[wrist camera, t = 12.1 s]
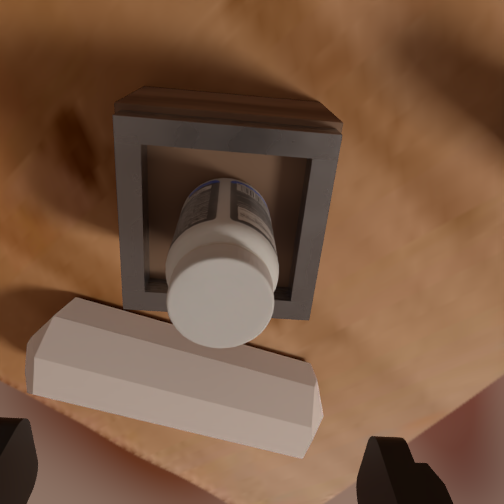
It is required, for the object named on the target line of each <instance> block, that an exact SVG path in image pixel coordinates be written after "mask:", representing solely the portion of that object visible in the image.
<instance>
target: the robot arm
mask: <svg viewBox="0 0 504 504" xmlns="http://www.w3.org/2000/svg"><path fill="white" fill-rule="evenodd" d="M37 471H38V460H37V455H36V450H35V445H34V440H33V435H32V430H31V425H30V422H29V420H28V419H24V418H2V417H0V504H27V501H28V499H29V497H30V495H31V493H32V490H33V488H34V485H35V481H36V477H37ZM356 488H357V500H358V504H453V502H452V500H451V497H450V495H449V493H448V491H447V489H446V486H445V484H444V483H443V482H442V481H441V479H440V478H439V477H438V476H437V475H436V474H435V472H434V471H433V470H432V469H431V467H430V466H429V465H428V464H427V463H415V462H414V459H413V457H412V455H411V452H410V449H409V447H408V445H407V443H406V441H405V440H404V439H403V438H399V437H378V436H371V437H370V438H369V440H368V443H367V446H366V450H365V453H364V456H363V460H362V463H361V466H360V469H359V473H358V476H357V486H356Z"/></svg>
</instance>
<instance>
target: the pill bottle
mask: <svg viewBox="0 0 504 504" xmlns="http://www.w3.org/2000/svg"><path fill="white" fill-rule="evenodd" d="M165 273H166V280H167V284H168V291H167V298H166V305H167V311H168V315H169V318H170V320H171V322H172V323H173V325H174V326H175V328H176V329H177V330H178V331H179V332H180V333H181V334H182V335H183V336H184V337H186V338H187V339H189V340H191V341H192V342H194V343H197V344H199V345H203V346H206V347H211V348H230V347H236V346H239V345H242V344H244V343H247V342H249V341H251V340H252V339H254V338H255V337H257V336H258V335H259V334H260V333H261V332H262V331H263V330H264V329H265V327H266V326H267V325H268V323H269V321H270V319H271V317H272V314H273V310H274V291H275V289H276V286H277V282H278V277H279V262H278V257H277V252H276V246H275V241H274V235H273V229H272V224H271V219H270V213H269V210H268V207H267V204H266V202H265V200H264V199H263V197H262V196H261V195H260V193H259V192H258V191H257V190H256V189H255V188H253V187H252V186H251V185H249V184H247V183H245V182H242V181H240V180H236V179H231V178H219V179H213V180H209V181H207V182H205V183H203V184H201V185H199V186H198V187H197V188H195V189H194V190H193V191H192V192H191V193H190V195H189V196H188V197H187V199H186V201H185V203H184V205H183V208H182V211H181V214H180V217H179V220H178V223H177V227H176V230H175V233H174V237H173V240H172V243H171V245H170V249H169V252H168V255H167V260H166V270H165Z"/></svg>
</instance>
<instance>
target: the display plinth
mask: <svg viewBox="0 0 504 504" xmlns="http://www.w3.org/2000/svg"><path fill="white" fill-rule="evenodd" d="M114 107H115V114H114V115H113V130H114V149H115V167H116V186H117V204H118V223H119V241H120V259H121V278H122V296H123V309H131V310H147V311H164V312H168V311H167V305H166V298H167V291H168V284H167V280H166V273H165V270H166V260H167V255H168V252H169V249H170V245H171V243H172V240H173V237H174V233H175V230H176V227H177V223H178V220H179V217H180V214H181V211H182V208H183V205H184V203H185V201H186V199H187V197H188V196H189V195H190V193H191V192H192V191H193V190H194V189H195V188H197V187H198V186H199V185H201V184H203V183H205V182H207V181H209V180H213V179H219V178H231V179H236V180H240V181H242V182H245V183H247V184H249V185H251V186H252V187H253V188H255V189H256V190H257V191H258V192H259V193H260V195H261V196H262V197H263V199H264V200H265V202H266V204H267V207H268V210H269V213H270V219H271V224H272V229H273V235H274V241H275V246H276V252H277V257H278V262H279V277H278V282H277V286H276V289H275V291H274V310H273V314H272V317H271V318H279V319H296V320H309V318H310V312H311V307H312V301H313V295H314V290H315V284H316V279H317V273H318V268H319V262H320V257H321V251H322V245H323V240H324V234H325V229H326V223H327V218H328V212H329V207H330V201H331V195H332V190H333V184H334V179H335V173H336V168H337V162H338V157H339V151H340V145H341V140H342V134H341V132H342V127H343V122H342V121H341V120H339V119H338V118H337V117H336V116H335V115H334V114H333V113H332V112H330V111H329V110H328V109H327V108H326V107H325V106H324V105H323V104H322V103H320V102H313V101H302V100H291V99H280V98H269V97H258V96H247V95H236V94H224V93H213V92H202V91H191V90H180V89H169V88H158V87H147V86H143V87H142V88H140V89H138V90H136V91H134V92H133V93H131V94H129V95H127V96H125V97H124V98H122V99H120V100H118V101H116V102H115V103H114Z"/></svg>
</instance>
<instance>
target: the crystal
mask: <svg viewBox="0 0 504 504" xmlns="http://www.w3.org/2000/svg"><path fill="white" fill-rule="evenodd" d="M60 317H61V318H60ZM63 318H64V319H63ZM67 319H68V320H67ZM71 320H72V321H71ZM74 321H75V322H74ZM78 322H79V323H78ZM85 324H86V325H85ZM89 325H90V326H89ZM96 327H97V328H96ZM100 328H101V329H100ZM107 330H108V331H107ZM111 331H112V332H111ZM118 333H119V334H118ZM122 334H123V335H122ZM129 336H130V337H129ZM133 337H134V338H133ZM140 339H141V340H140ZM144 340H145V341H144ZM151 342H152V343H151ZM155 343H156V344H155ZM162 345H163V346H162ZM173 348H174V349H173ZM184 351H185V352H184ZM195 354H196V355H195ZM206 357H207V358H206ZM217 360H218V361H217ZM228 363H229V364H228ZM239 366H240V367H239ZM25 376H26V385H27V393H29V394H33V395H38V396H42V397H46V398H50V399H54V400H59V401H63V402H67V403H71V404H75V405H79V406H84V407H88V408H92V409H96V410H100V411H104V412H109V413H113V414H117V415H121V416H125V417H130V418H134V419H138V420H142V421H146V422H150V423H155V424H159V425H163V426H167V427H171V428H176V429H180V430H184V431H188V432H192V433H196V434H201V435H205V436H209V437H213V438H217V439H222V440H226V441H230V442H234V443H238V444H242V445H247V446H251V447H255V448H259V449H263V450H267V451H272V452H276V453H280V454H284V455H288V456H293V457H297V458H301V459H303V457H304V455H305V453H306V452H307V450H308V448H309V446H310V444H311V442H312V440H313V438H314V436H315V434H316V432H317V429H318V427H319V425H320V423H321V420H322V418H323V411H322V405H321V399H320V393H319V387H318V381H317V378H316V375H315V373H314V371H313V368H312V366H311V363H307V362H304V361H300V360H297V359H293V358H290V357H286V356H282V355H279V354H275V353H272V352H268V351H265V350H261V349H258V348H254V347H251V346H247V345H244V344H242V345H239V346H236V347H230V348H211V347H206V346H203V345H199V344H197V343H194V342H192V341H191V340H189V339H187V338H186V337H184V336H183V335H182V334H181V333H180V332H179V331H178V330H177V329H176V328H175V326H174V325H173V324H169V323H166V322H162V321H159V320H155V319H152V318H148V317H145V316H141V315H138V314H134V313H131V312H127V311H123V310H120V309H116V308H113V307H109V306H106V305H102V304H99V303H95V302H92V301H88V300H85V299H81V298H78V297H75V298H74V299H73V300H72V301H71V302H69V303H68V304H67V305H66V306H65V307H63V308H62V309H61V310H60V311H59V312H57V313H56V314H55V315H54V316H53V317H52V318H51V319H50V320H49V321H48V322H47V323H45V324H44V325H43V326H42V327H41V328H40V329H39V330H38V331H37V332H36V333H35V334H34V335H33V336H32V337H31V338H30V340H29V341H28V343H27V350H26V365H25Z"/></svg>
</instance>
